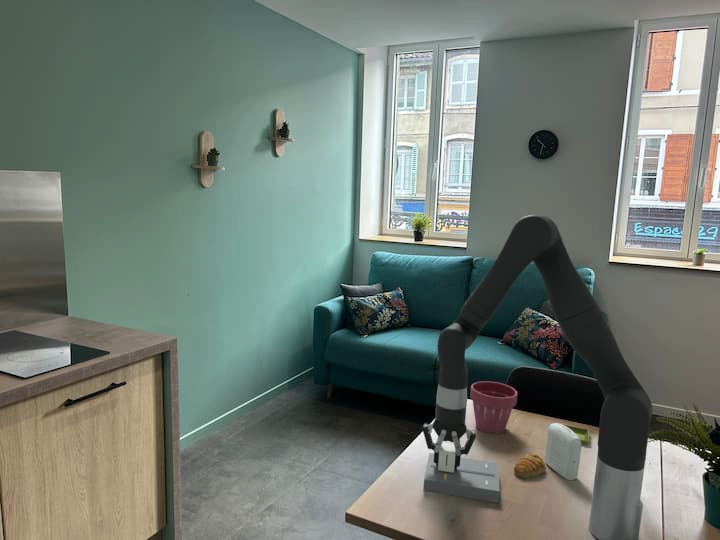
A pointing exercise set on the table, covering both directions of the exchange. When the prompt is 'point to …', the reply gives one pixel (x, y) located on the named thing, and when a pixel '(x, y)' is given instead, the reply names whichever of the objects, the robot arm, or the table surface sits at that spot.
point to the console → (464, 479)
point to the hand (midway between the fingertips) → (446, 465)
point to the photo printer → (563, 451)
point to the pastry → (529, 466)
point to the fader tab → (446, 457)
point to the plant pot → (492, 405)
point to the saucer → (580, 433)
